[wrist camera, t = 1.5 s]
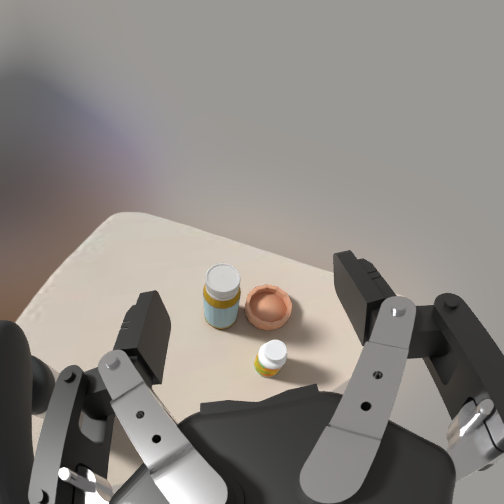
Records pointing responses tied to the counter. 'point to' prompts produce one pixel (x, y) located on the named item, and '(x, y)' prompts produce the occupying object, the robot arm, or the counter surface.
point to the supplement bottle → (270, 358)
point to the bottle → (221, 295)
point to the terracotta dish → (268, 307)
